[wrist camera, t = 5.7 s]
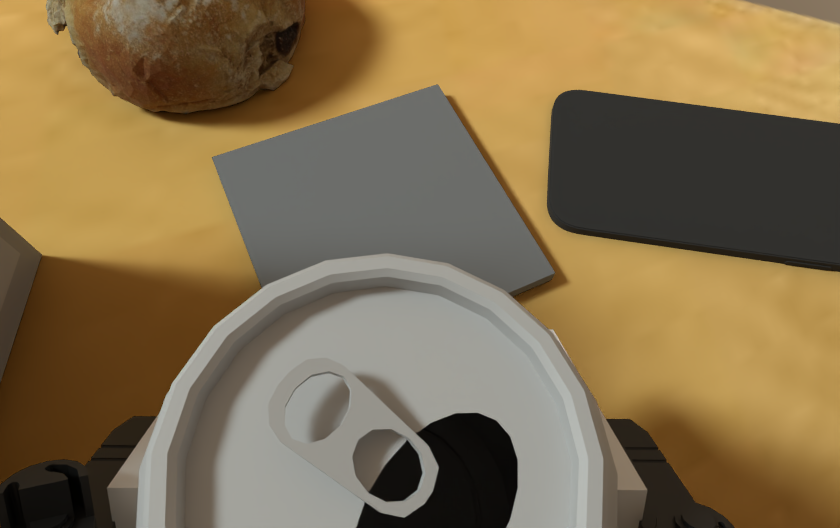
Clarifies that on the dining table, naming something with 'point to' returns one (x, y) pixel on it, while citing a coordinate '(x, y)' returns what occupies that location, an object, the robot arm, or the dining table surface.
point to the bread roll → (183, 47)
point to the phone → (696, 178)
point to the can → (379, 411)
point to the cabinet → (13, 285)
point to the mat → (379, 196)
